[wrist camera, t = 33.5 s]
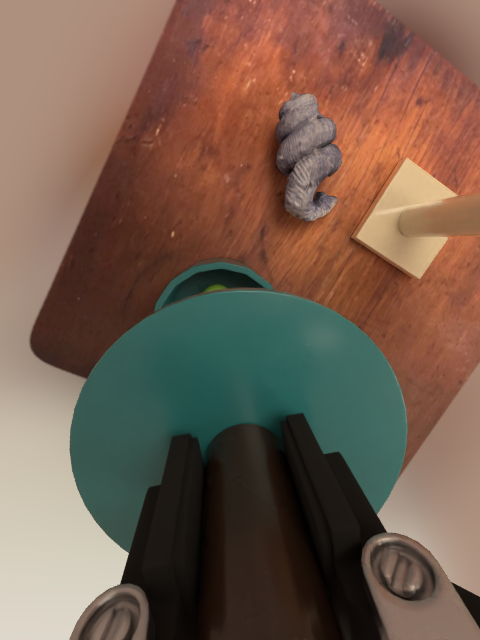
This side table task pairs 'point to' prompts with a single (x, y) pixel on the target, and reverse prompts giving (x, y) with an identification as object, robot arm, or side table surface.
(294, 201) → the seashell
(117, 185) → the side table surface
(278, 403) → the lid
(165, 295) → the pot
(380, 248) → the pedestal
